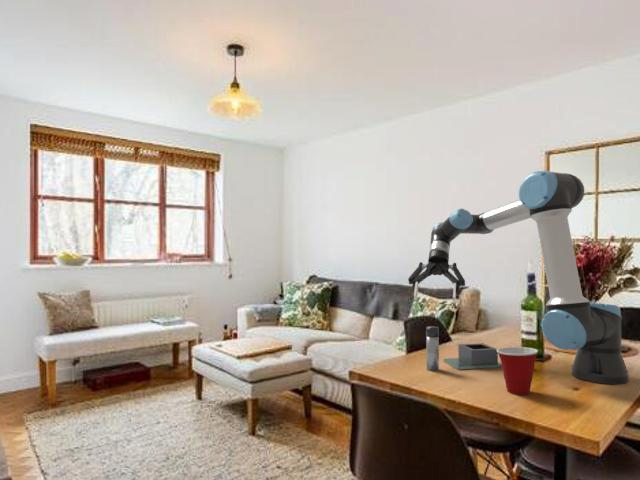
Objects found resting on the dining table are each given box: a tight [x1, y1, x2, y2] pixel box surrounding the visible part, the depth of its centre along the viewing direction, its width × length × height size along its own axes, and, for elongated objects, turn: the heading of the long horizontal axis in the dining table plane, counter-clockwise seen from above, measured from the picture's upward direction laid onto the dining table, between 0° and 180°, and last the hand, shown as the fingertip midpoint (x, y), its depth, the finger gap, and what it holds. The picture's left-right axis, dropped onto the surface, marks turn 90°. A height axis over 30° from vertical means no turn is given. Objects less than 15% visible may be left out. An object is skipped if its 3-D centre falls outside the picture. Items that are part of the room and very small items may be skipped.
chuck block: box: [443, 343, 502, 371], centre depth 157 cm, size 11×16×6 cm
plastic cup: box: [496, 346, 539, 396], centre depth 128 cm, size 11×11×12 cm
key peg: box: [425, 325, 440, 372], centre depth 151 cm, size 4×4×14 cm
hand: (434, 298), depth 162 cm, fingers open, 13 cm apart
